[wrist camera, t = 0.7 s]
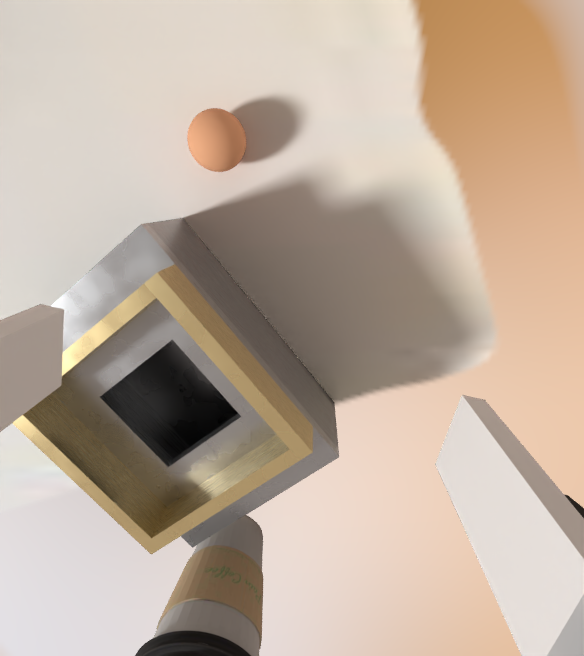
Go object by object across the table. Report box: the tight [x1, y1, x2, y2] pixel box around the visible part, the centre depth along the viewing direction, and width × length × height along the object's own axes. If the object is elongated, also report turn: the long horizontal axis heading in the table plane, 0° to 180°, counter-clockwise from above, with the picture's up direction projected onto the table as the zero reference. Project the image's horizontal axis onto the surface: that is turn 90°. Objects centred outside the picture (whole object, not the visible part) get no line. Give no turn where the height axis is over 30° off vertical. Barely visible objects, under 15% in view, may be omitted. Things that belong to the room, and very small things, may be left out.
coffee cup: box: [135, 515, 263, 656], centre depth 34 cm, size 9×9×15 cm
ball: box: [188, 108, 246, 172], centre depth 28 cm, size 4×4×4 cm
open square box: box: [13, 218, 339, 554], centre depth 31 cm, size 20×14×11 cm
